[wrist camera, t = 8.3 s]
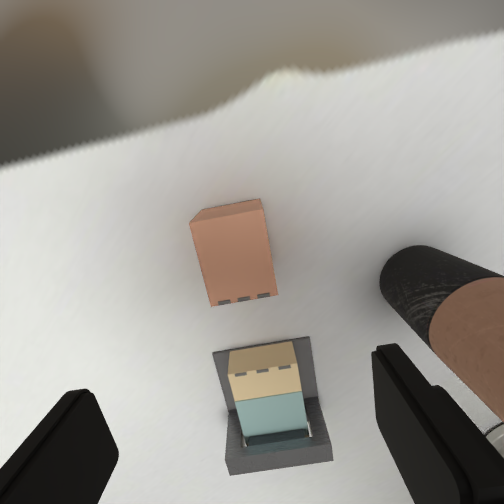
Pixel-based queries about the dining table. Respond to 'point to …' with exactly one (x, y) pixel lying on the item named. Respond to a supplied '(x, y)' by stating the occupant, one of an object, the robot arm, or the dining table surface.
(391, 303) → the travel mug
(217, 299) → the stub
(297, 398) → the tan and teal block
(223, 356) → the mat
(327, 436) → the grey rectangular collar
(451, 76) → the dining table surface
